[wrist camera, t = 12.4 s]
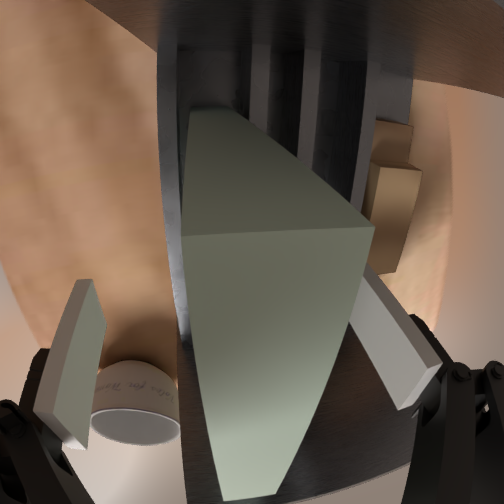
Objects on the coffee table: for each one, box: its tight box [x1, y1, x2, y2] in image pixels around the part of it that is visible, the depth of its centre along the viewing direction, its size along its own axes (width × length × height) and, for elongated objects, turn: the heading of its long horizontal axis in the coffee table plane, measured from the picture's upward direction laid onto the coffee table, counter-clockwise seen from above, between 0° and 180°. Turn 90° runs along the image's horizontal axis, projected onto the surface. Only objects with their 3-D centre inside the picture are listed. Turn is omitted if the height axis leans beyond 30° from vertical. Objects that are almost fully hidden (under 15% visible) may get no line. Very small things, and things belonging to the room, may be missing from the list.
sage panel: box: [181, 106, 375, 501], centre depth 15 cm, size 14×2×18 cm, turn 178°
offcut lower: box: [370, 118, 413, 163], centre depth 23 cm, size 12×4×2 cm, turn 178°
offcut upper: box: [361, 159, 423, 275], centre depth 22 cm, size 9×4×2 cm, turn 178°
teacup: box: [90, 360, 181, 446], centre depth 30 cm, size 14×11×8 cm
